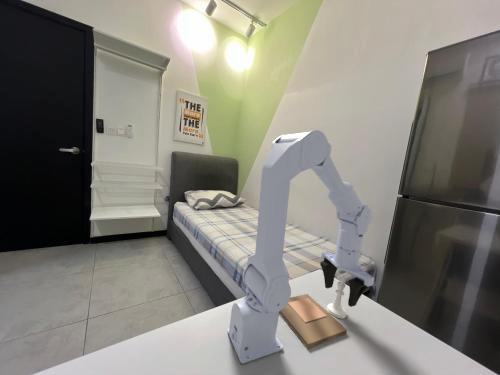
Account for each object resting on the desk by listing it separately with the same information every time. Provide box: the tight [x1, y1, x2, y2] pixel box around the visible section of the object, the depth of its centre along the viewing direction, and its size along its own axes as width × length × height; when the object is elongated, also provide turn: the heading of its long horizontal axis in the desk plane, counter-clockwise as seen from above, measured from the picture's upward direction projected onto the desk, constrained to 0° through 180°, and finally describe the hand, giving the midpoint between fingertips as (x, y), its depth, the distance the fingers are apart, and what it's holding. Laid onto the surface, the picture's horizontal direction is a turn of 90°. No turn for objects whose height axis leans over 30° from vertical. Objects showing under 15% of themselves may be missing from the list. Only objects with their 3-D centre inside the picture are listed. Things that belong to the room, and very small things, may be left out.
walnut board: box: [279, 293, 348, 349], centre depth 50 cm, size 12×14×1 cm
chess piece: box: [326, 276, 347, 319], centre depth 54 cm, size 5×5×10 cm
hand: (339, 295), depth 54 cm, fingers open, 7 cm apart
